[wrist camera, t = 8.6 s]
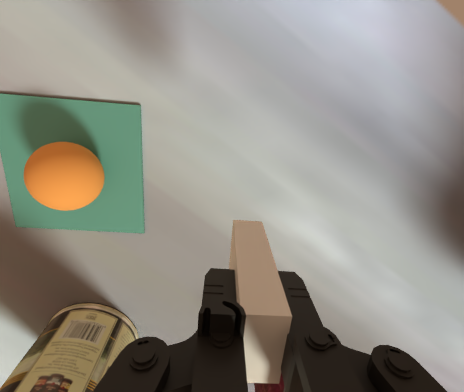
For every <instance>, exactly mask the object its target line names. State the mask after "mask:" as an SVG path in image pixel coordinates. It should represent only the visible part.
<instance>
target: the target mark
mask: <svg viewBox="0 0 464 392" xmlns="http://www.w3.org/2000/svg"><path fill="white" fill-rule="evenodd" d="M54 142H71V143H75V144H79V145H81V146H83V147H85V148H87V149H88V150H90V151H91V152H92V153H93V154H94V155H95V156H96V157H97V158H98V159H99V161H100V162H101V164H102V167H103V170H104V177H105V180H104V185H103V188H102V190H101V192H100V194H99V195H98V197H97V198H96V199H95V200H94V201H93V202H91V203H90V204H88V205H86V206H85V207H82V208H79V209H76V210H68V211H63V210H56V209H52V208H49V207H46V206H44V205H43V204H41V203H39V202H38V201H37V200H35V199H34V198H33V197H32V195H31V194H30V193H29V191H28V190H27V188H26V185H25V182H24V168H25V164H26V162H27V160H28V159H29V157H30V156H31V155H32V154H33V153H34V152H35V151H36V150H37V149H39V148H40V147H42V146H44V145H47V144H50V143H54ZM0 152H1V157H2V162H3V167H4V172H5V176H6V181H7V186H8V191H9V196H10V201H11V206H12V210H13V215H14V220H15V225H16V227H28V228H48V229H68V230H87V231H107V232H126V233H144V199H143V165H142V131H141V105H130V104H118V103H107V102H95V101H83V100H71V99H59V98H47V97H36V96H24V95H12V94H0Z"/></svg>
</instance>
